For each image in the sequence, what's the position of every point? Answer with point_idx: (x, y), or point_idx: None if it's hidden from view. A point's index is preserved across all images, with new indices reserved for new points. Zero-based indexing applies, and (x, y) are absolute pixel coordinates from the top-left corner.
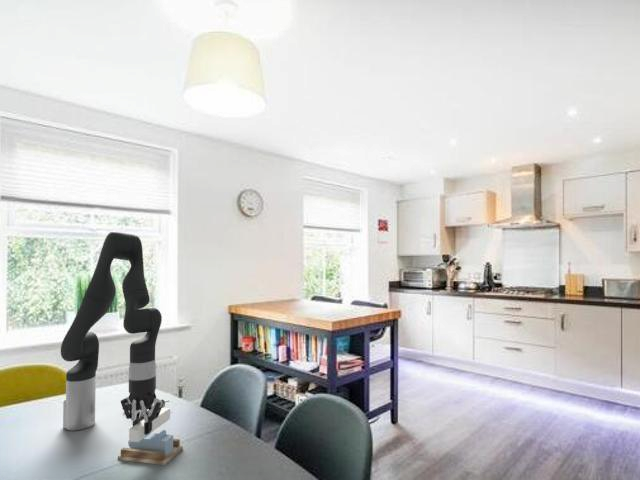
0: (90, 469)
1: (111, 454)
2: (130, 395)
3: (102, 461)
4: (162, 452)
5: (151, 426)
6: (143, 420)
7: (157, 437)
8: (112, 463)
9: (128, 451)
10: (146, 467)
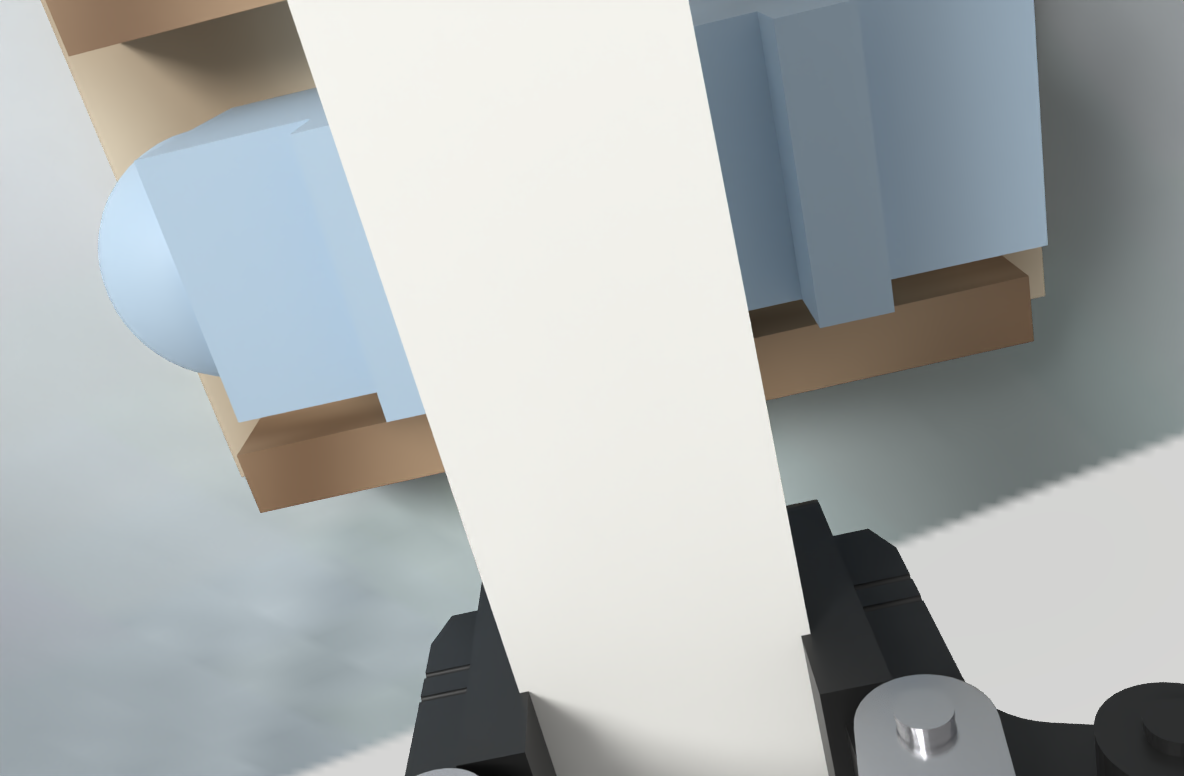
0: (193, 718)
1: (30, 399)
2: None
3: (124, 561)
4: (1004, 300)
5: (923, 614)
6: (532, 610)
7: (871, 310)
8: (294, 540)
9: (405, 475)
10: (812, 424)
